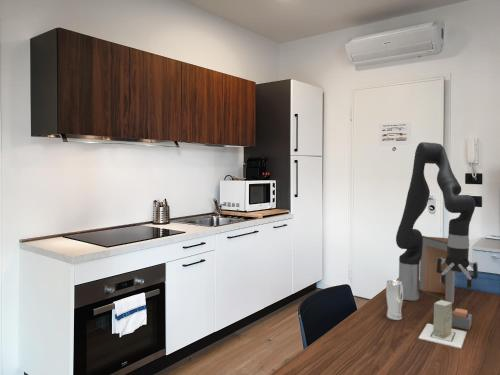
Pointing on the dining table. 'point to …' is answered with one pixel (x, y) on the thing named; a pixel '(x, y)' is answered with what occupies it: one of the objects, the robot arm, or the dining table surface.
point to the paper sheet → (452, 340)
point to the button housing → (461, 321)
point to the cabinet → (435, 269)
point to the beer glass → (394, 299)
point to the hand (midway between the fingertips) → (456, 286)
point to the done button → (460, 313)
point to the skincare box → (442, 318)
